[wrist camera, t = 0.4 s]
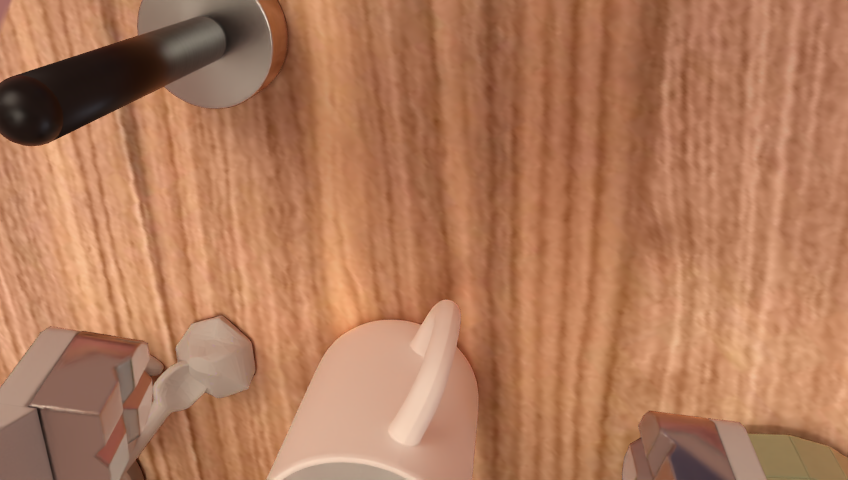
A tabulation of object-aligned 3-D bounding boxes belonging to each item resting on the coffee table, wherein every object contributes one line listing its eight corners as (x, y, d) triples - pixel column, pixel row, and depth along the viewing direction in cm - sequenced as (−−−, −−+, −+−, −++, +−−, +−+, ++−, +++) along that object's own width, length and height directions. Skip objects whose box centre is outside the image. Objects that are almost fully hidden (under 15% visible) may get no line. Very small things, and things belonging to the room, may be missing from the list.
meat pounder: (190, -68, 29) (-73, -51, 16) (311, 11, 29) (150, 88, 17) (140, 51, 31) (-125, 148, 18) (253, 122, 32) (73, 262, 19)
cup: (298, 410, 38) (226, 568, 29) (380, 224, 33) (324, 344, 24) (440, 470, 39) (414, 644, 29) (543, 296, 33) (550, 441, 24)
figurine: (232, 469, 40) (86, 750, 27) (77, 418, 40) (-149, 675, 27) (268, 327, 36) (114, 578, 23) (93, 269, 36) (-166, 486, 22)
